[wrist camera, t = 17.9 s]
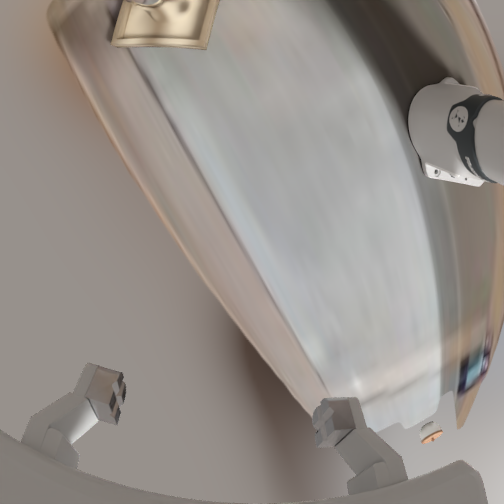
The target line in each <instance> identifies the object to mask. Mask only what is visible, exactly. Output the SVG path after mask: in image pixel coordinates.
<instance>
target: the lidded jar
mask: <svg viewBox="0 0 504 504" xmlns="http://www.w3.org/2000/svg"><path fill="white" fill-rule="evenodd" d="M442 433H443V431H442V430H441V427H440V426H439V425H438V424H437V423H435V422H429V423H427V424H426V425H424V426H423V427H422V429H421V432H420V439H421V442H422V444H425V443H428V442H430V441H434V439H436V438H437V437H439V436H440V435H441V434H442Z"/></svg>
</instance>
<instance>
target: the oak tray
mask: <svg viewBox="0 0 504 504" xmlns="http://www.w3.org/2000/svg"><path fill="white" fill-rule="evenodd" d="M219 1H220V0H192V8H191V11H190V12H189V14H188V15H187V16H186V17H185V18H183V19H182V20H180V21H178V22H176V23H172V24H162V23H158V22H156V21H155V20H154V19H153V18H152V16H151V14H150V12H149V11H147V10H144V9H141V8H139V7H136V6H134V5H132V4H130V3H129V2H127V1H126V0H123V3H122V6H121V9H120V12H119V16H118V19H117V22H116V26H115V29H114V33H113V37H112V41H111V45H112V46H115V47H118V48H121V47H173V48H190V49H201V50H206V49H207V45H208V41H209V37H210V34H211V30H212V26H213V22H214V19H215V15H216V12H217V8H218V5H219Z"/></svg>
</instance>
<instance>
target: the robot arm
mask: <svg viewBox="0 0 504 504" xmlns="http://www.w3.org/2000/svg"><path fill="white" fill-rule="evenodd" d="M408 126H409V133H410V137H411V140H412V143H413V145H414V147H415V149H416V151H417V153H418V154H419V156H420V158H421V162H422V168H423V172H424V174H425V176H427V177H430V178H435V179H441V180H446V181H452V182H457V183H462V184H467V185H472V186H478V187H479V186H481V184H482V183H483V182H484V181H486V182H491V183H499V184H501V185H503V186H504V100H502V99H501V98H498V97H495V96H492V95H488V94H483V93H482V92H480V91H479V89H478V88H477V87H473V86H467V85H461V84H459V83H458V82H457V81H456V80H455V79H454V78H451V77H446V78H445V79H443V80H442V81H441V82H440V83H438V84H433V85H428V86H426V87H424V88H422V89H421V90H420V91H419V92H418V93H417V94H416V95H415V97H414V99H413V101H412V103H411V106H410V110H409V116H408ZM435 170H436V172H435ZM434 172H435V173H434ZM123 378H124V376H123V373H122V372H119V371H115V370H111V369H108V368H104V367H101V366H99V365H95V364H92V363H87V364H86V365H85V367H84V369H83V371H82V373H81V376H80V378H79V380H78V382H77V385H76V387H75V389H74V392H73V393H71V392H69V393H68V394H66V395H65V396H63V397H62V398H60V399H58V400H57V401H55V402H54V403H52V404H51V405H49V406H47V407H46V408H44V409H43V410H41V411H39V412H38V413H36V414H35V415H33V416H31V418H30V420H29V423H28V425H27V428H26V430H25V432H24V435H23V438H22V440H21V442H20V441H18V440H16V439H15V438H13V437H11V436H10V435H8V434H7V433H5V432H3V431H2V430H0V504H246V503H224V502H211V501H202V500H193V499H186V498H179V497H174V496H168V495H163V494H158V493H153V492H148V491H144V490H140V489H136V488H132V487H128V486H125V485H121V484H118V483H115V482H112V481H108V480H105V479H102V478H99V477H96V476H93V475H91V474H88V473H85V472H83V471H80V470H78V469H77V465H78V462H79V458H80V455H79V453H78V452H77V451H76V450H75V448H74V447H73V446H72V445H71V444H72V443H74V442H75V441H76V440H77V439H78V438H79V437H80V436H82V435H83V434H84V433H85V432H86V431H88V430H89V429H90V428H91V427H92V426H93V425H94V424H96V423H97V422H98V420H100V421H104V422H107V423H111V424H114V425H117V424H118V421H119V417H120V414H121V411H120V408H119V406H121V405H122V404H123V403H124V400H125V395H126V384H125V383H124V382H123ZM312 421H313V427H314V428H316V430H317V432H316V434H315V440H316V445H317V447H334V448H335V449H336V450H337V452H338V453H339V454H340V456H341V457H342V458H343V459H344V460H345V462H346V463H347V464H348V465H349V467H350V468H351V469H352V470H353V471H354V473H355V474H356V476H355V477H353V478H352V479H350V480H349V481H348V482H347V487H348V493H349V495H347V496H341V497H335V498H329V499H321V500H314V501H303V502H291V503H272V504H488V502H487V497H486V492H485V488H484V484H483V481H482V478H481V476H480V474H479V472H478V471H477V470H476V469H474V468H473V467H472V466H471V465H469V464H468V463H466V462H465V461H463V460H459V461H456V462H453V463H451V464H449V465H446V466H444V467H442V468H440V469H437V470H434V471H432V472H429V473H426V474H424V475H421V476H418V477H416V478H412V479H409V480H408V477H407V474H406V471H405V467H404V463H403V460H402V457H401V456H400V455H399V454H398V453H397V452H396V451H394V450H393V449H392V448H391V447H390V446H389V445H388V444H387V443H386V442H385V441H384V440H383V439H381V438H380V437H379V436H378V435H377V434H376V433H375V432H374V431H373V430H372V429H371V428H367V426H366V423H365V419H364V416H363V413H362V409H361V406H360V403H359V400H358V398H356V397H346V398H345V397H341V398H324V399H323V400H322V401H321V405H320V406H318V407H316V409H315V410H314V413H313V419H312ZM269 504H271V503H269Z"/></svg>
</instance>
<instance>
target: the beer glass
mask: <svg viewBox="0 0 504 504" xmlns="http://www.w3.org/2000/svg"><path fill="white" fill-rule="evenodd" d="M126 1H127V2H129V3H130V4H132V5H134V6H136V7H139V8H141V9H144V10H147V11H149V12H150V14H151V16H152V18H153V19H154V20H155V21H156V22H158V23H162V24H172V23H176V22H178V21H180V20H182V19H183V18H185V17H186V16H187V15H188V14H189V12H190V11H191V8H192V0H126Z"/></svg>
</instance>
